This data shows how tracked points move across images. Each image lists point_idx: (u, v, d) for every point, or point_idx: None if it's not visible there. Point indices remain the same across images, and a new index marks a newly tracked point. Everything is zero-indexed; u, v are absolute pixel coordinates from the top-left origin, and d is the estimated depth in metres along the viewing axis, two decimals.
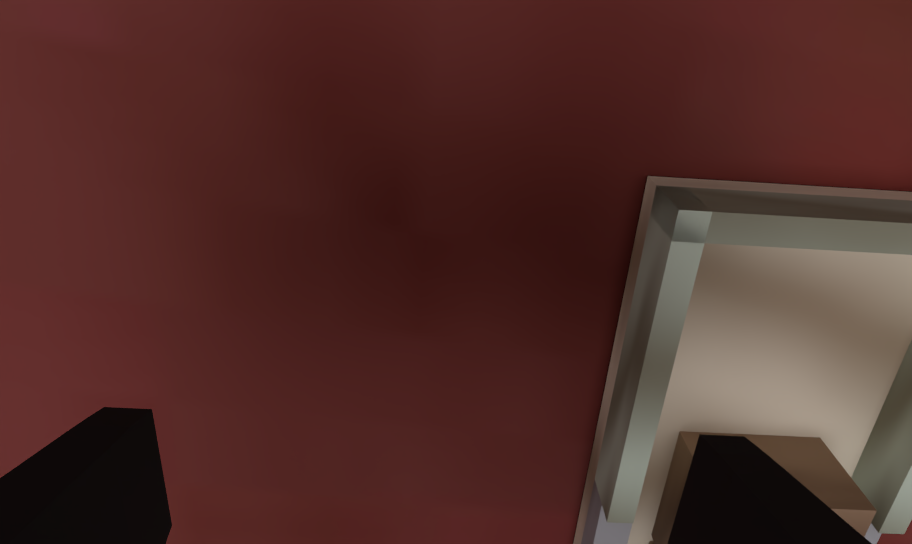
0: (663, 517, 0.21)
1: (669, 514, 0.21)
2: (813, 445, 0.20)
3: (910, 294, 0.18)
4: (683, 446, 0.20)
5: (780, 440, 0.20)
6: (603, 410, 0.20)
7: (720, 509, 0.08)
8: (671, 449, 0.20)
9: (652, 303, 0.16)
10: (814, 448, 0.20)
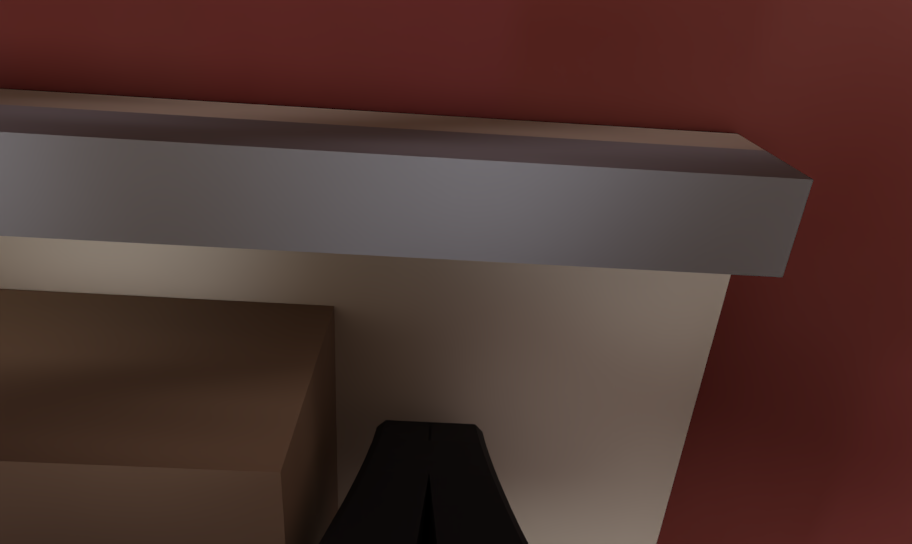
0: None
1: None
2: None
3: None
4: None
5: None
6: None
7: None
8: None
9: None
10: None
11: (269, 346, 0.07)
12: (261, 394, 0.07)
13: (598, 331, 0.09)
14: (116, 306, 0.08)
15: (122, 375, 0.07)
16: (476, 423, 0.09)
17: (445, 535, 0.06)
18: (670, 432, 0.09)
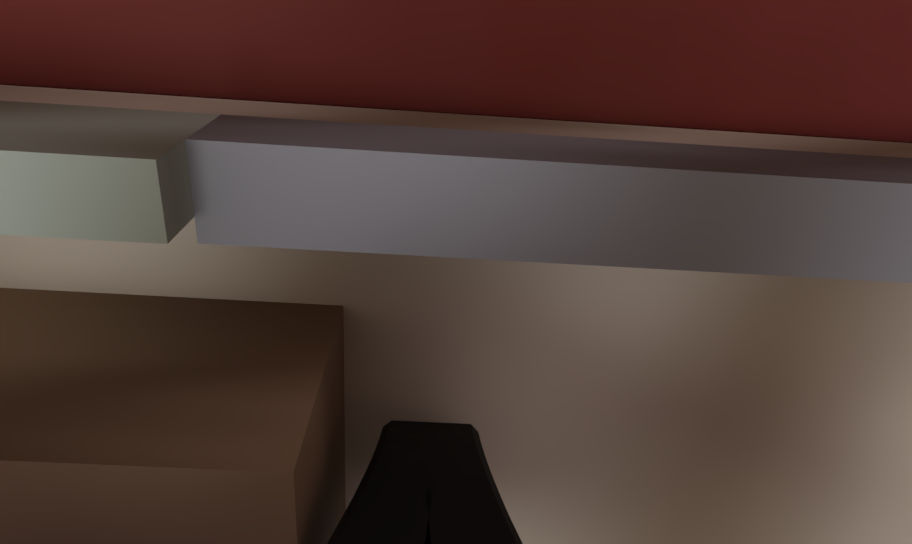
0: None
1: None
2: None
3: None
4: None
5: None
6: None
7: None
8: None
9: None
10: None
11: (279, 346, 0.07)
12: (272, 393, 0.07)
13: None
14: (125, 305, 0.08)
15: (133, 374, 0.07)
16: (870, 440, 0.09)
17: (439, 535, 0.06)
18: None
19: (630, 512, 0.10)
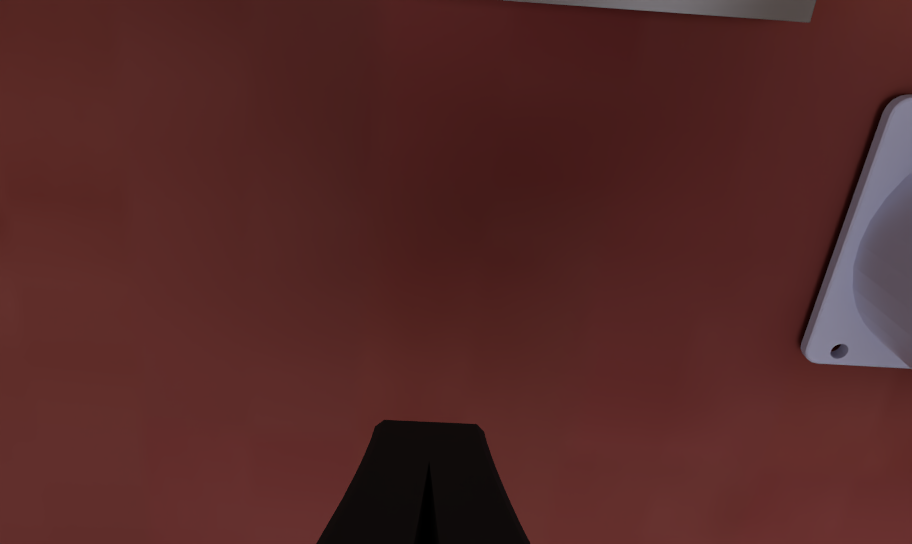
0: None
1: None
2: None
3: None
4: None
5: None
6: None
7: None
8: None
9: None
10: None
11: None
12: None
13: None
14: None
15: None
16: None
17: (447, 535, 0.06)
18: None
19: None
